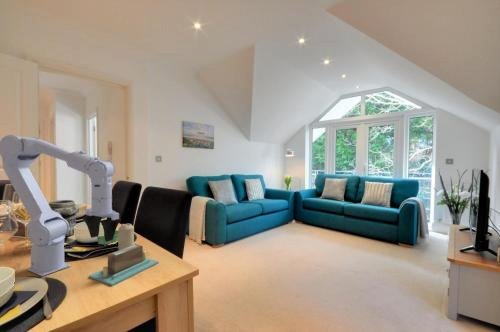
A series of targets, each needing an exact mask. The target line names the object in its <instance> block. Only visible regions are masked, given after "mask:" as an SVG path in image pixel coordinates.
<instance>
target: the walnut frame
mask: <svg viewBox="0 0 500 332" xmlns="http://www.w3.org/2000/svg"><path fill="white" fill-rule="evenodd" d="M143 249H144V248H143V245H139V244H137V243H136V244H135V243H134V245H132V246H129V247H127V248H124V249H121V250H119V249H118V250H117V251H114V252H111V253H108V254H107V267H108V274H111V275H115V274H117V273H119V272H121V271H123V270H126V269H128V268H130V267H132V266H134V265H137V264H139V263H141V262H143V251H144V250H143Z"/></svg>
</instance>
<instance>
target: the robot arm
mask: <svg viewBox="0 0 500 332" xmlns="http://www.w3.org/2000/svg"><path fill="white" fill-rule="evenodd" d="M42 154H43V155H46V156H49V157H51V158H54V159H57V160H60V161H64V162H66V165H67V167H69V168H71V169H74V170H75V171H78V172H82V173H83V174H86V175H87V176H88V177H89V178H90V183H91V185H90V186H91V187H90V189H91V190H90V191H91V192H90V195H91V197H90V201H91V202H90V206H91V207H90V208H85V209H84V210H85V213H84V214H85V215H86V216H84V217H82V220H83V222H84V223H85V225H86V226H87V229H88V232H89V235H90V238H91V239H92V238H98V237H97V236H98V235H99V233H100V227H101V226H102V228H103V231H104V236H105V241H106V242H108V241H111V240H113V237H114V233H115V230H117V227H118V226H119V224H120V222H121V220H122V219H121V218H120V213H119V212H117V211H115V210H113V205H112V203H113V194H112V193H113V192H112V191H113V182H112V180H113V179H112V178H113V176H114V174H115V172H116V168H115V165H114V164H113V163H112V162H110V161H109V160H102V161H101V159H100V158H101V157H94V156H92V155H89V154H87V152H86V151H84V150H80V151H79V150H77V151H72V152H71V151H69V150H67V149H64V148H62V147H60V146H58V145H56V144H53V143H52V142H48V141H47V140H46V139H45V140H44V139H40V138H38V137H35V136H34V137H28V136H18V135H14V134H13V135H12V134H8V135H5V136H3V137H1V139H0V157H1V161H2V169H3V171H4V173H5V174H6V176H7V178H8V180H9V182H10V184H11V185H12V187H13V188H14V189H13V190H14V191H15V193H16V194H17V197H19V200H20V201H21V203H22V206H23V207H24V209H25V210H26V213H28V216H29V218H30V220H29V222H28V223H27V224H26V226H25V227H26V229H27V231H28V232H27V233H28V240H29V242H31V243H32V246H31V248H30V267H28V268H26V270H27V271H29V272H31V273H33V274H36V275H39V276H40V277H45V276H48V275H49V274H52V273H55V272H58V271H60V270H64V269H66V268H67V269H68V268H70V267H71V264H70V263H68V262H67V263H66V262H65V247H64V238H65V235H66V234H67V233H68V231H69V223H68V222H67V221H66V220H65V219H63V218H62V217H61V215H60V214H59V213H57V212H55V211H53V210H51V208H50V206H49V202H48V200H47V199H46V197H45V195H44V193H43V192H42V189H41V188H40V186H39V184H38V183H37V180H36V178H35V177H34V176H33V174H32V171H31V170H30V167H31V165H32V164H33V163H34V162H35V161H36V160H37V159H38V158H39V157H40V156H41V155H42ZM102 218H105V219H102Z"/></svg>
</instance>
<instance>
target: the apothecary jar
mask: <svg viewBox="0 0 500 332" xmlns="http://www.w3.org/2000/svg"><path fill="white" fill-rule="evenodd" d="M48 204H49V206H50V208H51V210H53V211H55V212H57V213H59V214H60V215H61V217H62V218H63V219H65V220H66V221H67V222H68V223H69V231H68V233H67V234H66V235H65V238H64V243H70V242H72V241H73V239H74V238H71V237H73V236H74V229H73V228H74V226H75V225H77V224H76V223H77V220H76V218H77V214H78V213H79V211H80V207H79V206H78V205H76V202H75V200H73V199H59V200H52V201H49V202H48Z"/></svg>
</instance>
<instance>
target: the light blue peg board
mask: <svg viewBox="0 0 500 332" xmlns="http://www.w3.org/2000/svg"><path fill="white" fill-rule="evenodd" d="M157 264H159V260H155V259H152V258H148V257H147V251H146V250H143V262H141V263H139V264H137V265H134V266H132V267H130V268H128V269H126V270H123V271H121V272H119V273H117V274H115V275H111V274H108V266H103V268H102V269H101V270H99V271H96V272H94V273H92V274H89V276H88V278H90V279H93V280H95V281H98V282H100V283H103V284H106V285H108V286H111V287H114V286H116V285H117V284H120V283H122V282H124V281H126V280H128V279H129V278H131V277H134V276H136V275H137V274H139V273H142V272H143V271H146V270H148V269H150V268H152V267H154V266H156V265H157Z"/></svg>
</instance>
